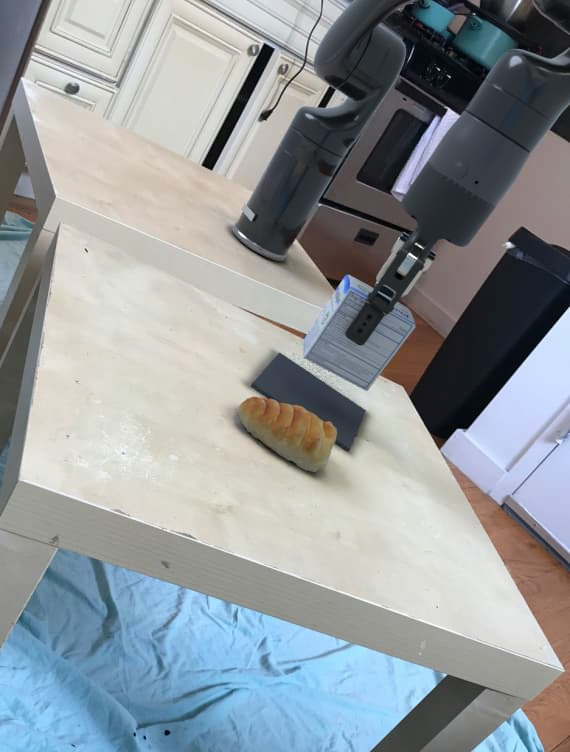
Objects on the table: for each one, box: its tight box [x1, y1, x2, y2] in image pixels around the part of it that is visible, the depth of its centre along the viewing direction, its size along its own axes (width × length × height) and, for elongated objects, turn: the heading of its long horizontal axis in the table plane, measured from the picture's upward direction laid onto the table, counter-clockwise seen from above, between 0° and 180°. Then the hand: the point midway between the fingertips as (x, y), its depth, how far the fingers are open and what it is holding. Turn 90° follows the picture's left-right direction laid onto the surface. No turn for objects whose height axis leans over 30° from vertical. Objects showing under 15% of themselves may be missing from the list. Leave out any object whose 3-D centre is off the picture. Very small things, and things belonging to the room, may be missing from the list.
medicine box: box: [302, 274, 416, 392], centre depth 76 cm, size 8×4×9 cm, turn 84°
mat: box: [250, 352, 367, 452], centre depth 81 cm, size 12×12×1 cm
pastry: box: [237, 396, 337, 473], centre depth 69 cm, size 9×7×4 cm
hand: (357, 332), depth 76 cm, fingers closed on medicine box, 5 cm apart
